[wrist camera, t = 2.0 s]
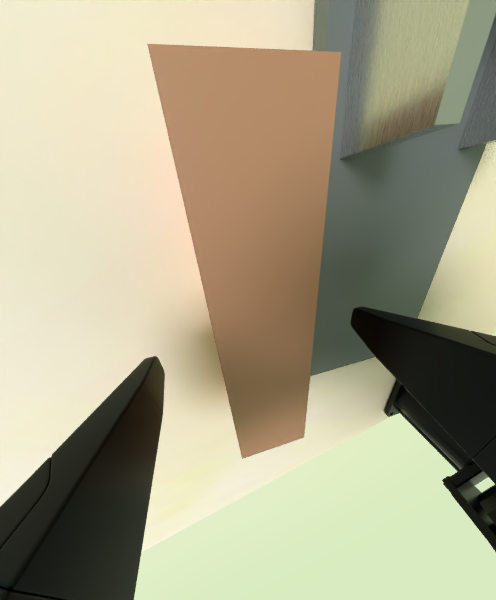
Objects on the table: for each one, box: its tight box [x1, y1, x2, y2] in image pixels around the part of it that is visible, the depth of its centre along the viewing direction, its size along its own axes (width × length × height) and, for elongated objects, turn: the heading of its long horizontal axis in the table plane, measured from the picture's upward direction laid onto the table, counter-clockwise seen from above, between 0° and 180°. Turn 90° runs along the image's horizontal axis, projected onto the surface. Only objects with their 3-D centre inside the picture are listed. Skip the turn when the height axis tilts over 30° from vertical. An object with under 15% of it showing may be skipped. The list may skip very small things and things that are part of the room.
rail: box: [148, 44, 341, 459], centre depth 9 cm, size 16×4×4 cm, turn 6°
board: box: [310, 0, 496, 376], centre depth 10 cm, size 19×9×1 cm, turn 6°
